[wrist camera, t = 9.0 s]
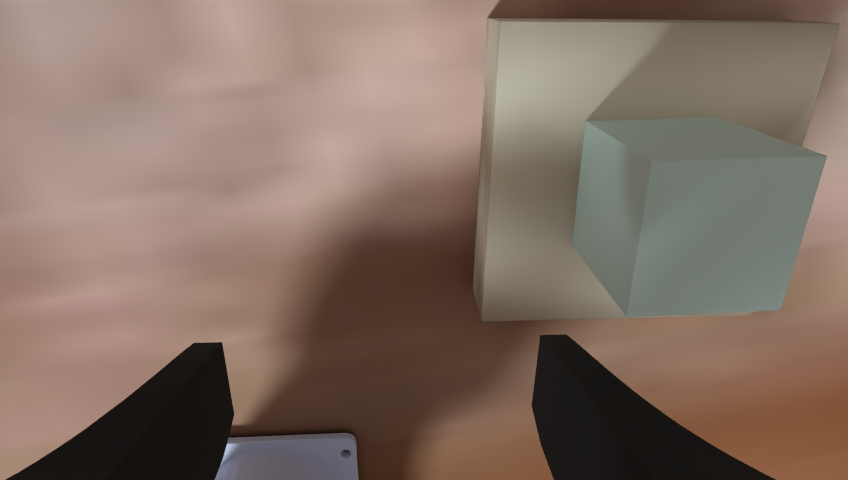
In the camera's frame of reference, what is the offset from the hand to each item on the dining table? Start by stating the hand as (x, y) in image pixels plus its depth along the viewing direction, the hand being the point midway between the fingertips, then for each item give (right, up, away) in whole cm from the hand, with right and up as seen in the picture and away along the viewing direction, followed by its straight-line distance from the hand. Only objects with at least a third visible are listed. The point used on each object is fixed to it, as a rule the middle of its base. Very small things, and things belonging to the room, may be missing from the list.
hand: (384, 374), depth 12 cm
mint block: (+9, +5, +7) cm, 12 cm away
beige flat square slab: (+8, +6, +10) cm, 14 cm away
